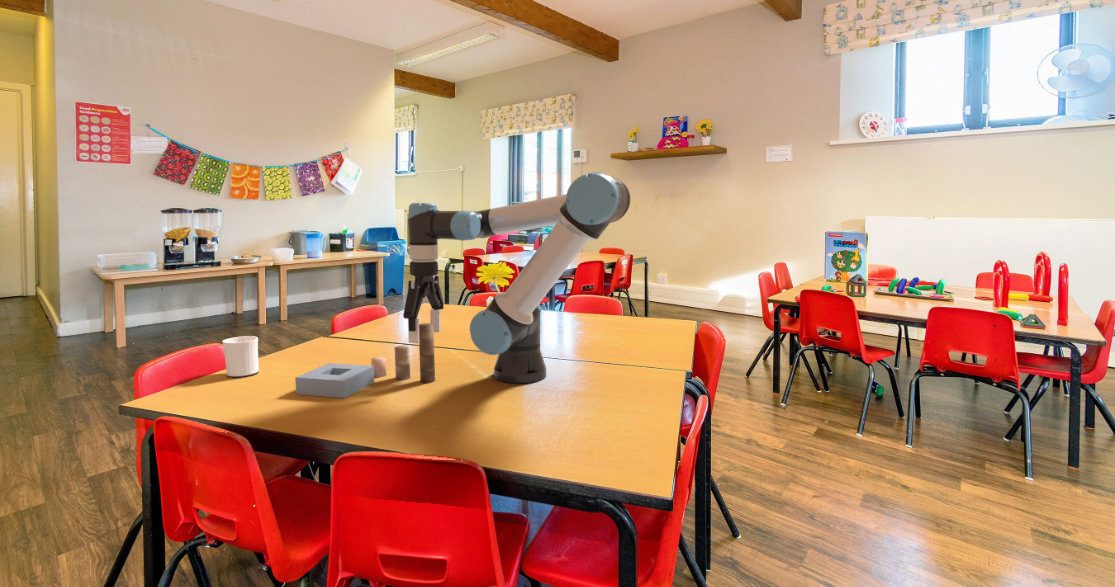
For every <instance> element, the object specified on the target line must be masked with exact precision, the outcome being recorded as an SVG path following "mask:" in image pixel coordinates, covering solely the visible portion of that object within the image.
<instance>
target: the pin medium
mask: <svg viewBox="0 0 1115 587" xmlns="http://www.w3.org/2000/svg"><path fill="white" fill-rule="evenodd" d="M410 357H411V356H410V346H409V345H396V346H394V363H395V364H394V367H395V380H397V381H405V380H406V381H407V380H409V379H411V363H410V362H411V360H410V359H411V358H410Z"/></svg>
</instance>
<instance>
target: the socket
mask: <svg viewBox="0 0 1115 587" xmlns="http://www.w3.org/2000/svg"><path fill="white" fill-rule="evenodd" d="M294 378H295V392H296V395H300V396H301V395H302V396H315V397H328V398H340V399H346V398H348V397H350V396H353V395H354V394H355V393H357V392H358V391H360V390H363V389H364V388H366V387H368V386H370V385H372V384H373V383H375V377H374V366H371V365H364V364H348V363H346V364H345V363H333V362H331V363H330V362H328V363H325V364H323V365H322V366H319V367H317V368H313V369H311V370H309V371H307V372H305V373H303V374H300V375H298V376H295V377H294Z"/></svg>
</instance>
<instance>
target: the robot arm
mask: <svg viewBox="0 0 1115 587" xmlns="http://www.w3.org/2000/svg"><path fill="white" fill-rule="evenodd" d="M630 204H631V193H630V190H629V189H628V186H627V185H626V183H624V182H623V181H622V180H621V179H619V178H617V177H614V176H610V175H608V174H607V173H603V172H597V171H596V172H589V173H585V174H582V175H580V176H579V177H577V178H576V179H574V181H572V183H571V184H570V185H569V186H568V188H567V191H566V193H565V194H561V195H556V196H555V195H554V196H552V197H551V196H550V197H549V196H548V197H545V198H540V199H535V200H529V201H525V202H519V203H514V204H510V205H505V206H498V207H495V208H494V207H493V208H488V209H482V210H478V211H477V210H475V211H471V210H439V209H438V205H437V204H436V203H434V202H433V203H432V202H428V203H427V202H412V203H410V204H409V205H408V215H407V216H408V218H407V221H408V238H409V241H408V243H409V245H408V249H407V250H408V253H409V260H411V261H410V262H409V275H410V276H413V277H414V280H408V282H407V283H408V288H407V289H408V290H407V292H406V300H405V303H404V309H403V315H402V316H403V319H405V320H407V328H408V329H407V330H408V334H407V335H408V343H409V344H419V324H420V318H418V315H419V313H420V310H421V307H422V303H423V300H424V298H427V301H428V302H429V305H430V307H431V309H430V310H429V311H430V312H429V316H430V318H429V320H430V323H432V324H433V326H434V333H441V310H444V307H445V306H444V299H443V294H442V290H441V286H440V281H439V280H440V279H439V276H438V274H439V262H438V261H437V260H438V259H439V244H438V240H454V241H456V240H457V241H462V242H464V241H474V240H476V239H488V238H490V237H494V236H498V235H503V234H511V233H514V232H515V233H516V232H521V231H522V232H523V231H528V230H533V229H541V228H545V227H551V226H553V228H552V229H551V231H550V232H549V233H548V235H547V236H546V237H545V239H544V240H543V241H542V243H541V244H540V246H538V248H537V249H536V250H535V252H534V253H533V255H532V256H531V257H530V258H529V260H528V262H527V263H526V264H525V265H524V267H523V268H522V270H521V271H520V272H519V274H518V275H516V276H517V277H516V278H515V279H514V281H512V283H511V284H510V285H509V287H508V288H507V290H506V291H505V292H498V293H496V294H495V296H493V299H492V300H491V301H490V302H489V304H488V305H487V307H486V308H485V309H483V310H480V311H478V312H477V313H476V314H475V315H474V316H473V317H472V319H471V320H470V324H469V333H470V338H471V340H472V342H473V344H474V347H476V348H477V349H478V350H479V351H480V352H482V353H484V354H486V355H490V356H491V355H492V356H494V355H497V358H496V361H495V364H494V368H493V378H494V379H495V380H497V381H499V382H503V383H509V384H526V383H527V384H528V383H534V382H535V383H536V382H539V381H542V380H544V379H545V378H546V377H547V366H546V362H545V360H544V357H543V354H542V350H541V312H542V309H541V302H542V301H543V300H544V298H545V297H546V296H547V294H548V293H549V292H550V291H551V289H552V288H553V287H554V285H555V284H556V283H557V282H558V280H559V279H560V278H561V276H562V275H563V274H564V272H566V270H567V269H568V267H569V266H570V265H571V263H572V262H573V261H574V259H575V258H576V257H577V256H578V254H579V253H580V252H581V251H582V249H583V247H584V246H586V244H587V243H588V242H590V241H596V240H598V239H599V238H600V236H601V235H602V234H603V233H604V231H605V230H606V229H607V228H608V226H609V225H610V224H612V223H615V222H618V221H619V220H621V219H622V218H624V216H625V215H626V214H627V212H628V210H629V208H630V206H631V205H630Z"/></svg>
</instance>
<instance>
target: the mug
mask: <svg viewBox="0 0 1115 587" xmlns="http://www.w3.org/2000/svg"><path fill="white" fill-rule="evenodd" d="M222 346H223V352H224V360H225V369H226V376H227V378H229V377H231V378H230V379H243V377H244V378H249V376H250V377H253V376H255V375H258V374H259V372H260V368H259V367H260V366H259V338H258V337H257V336H253V335H244V336H236V337H235V336H234V337H230V338H225V339H223V340H222Z"/></svg>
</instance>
